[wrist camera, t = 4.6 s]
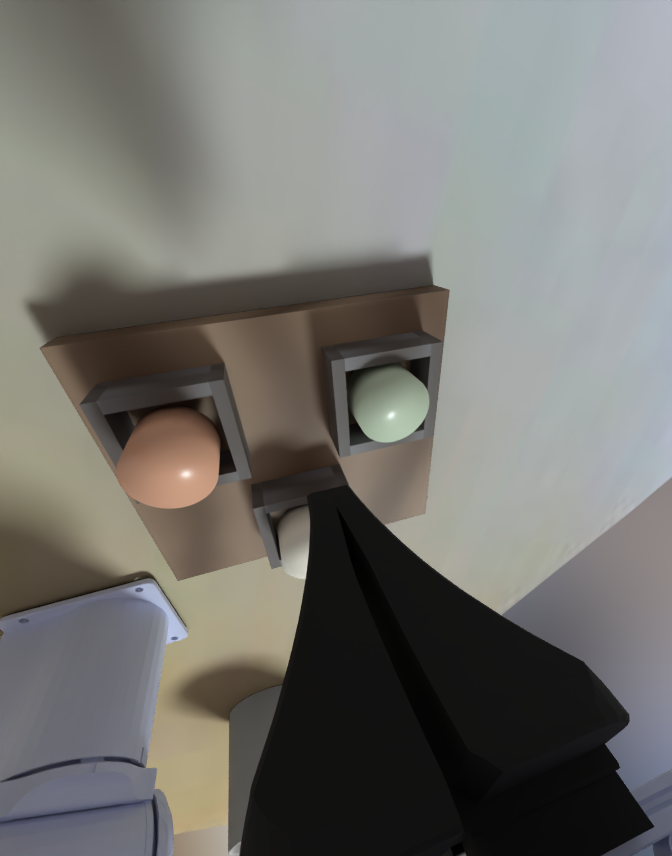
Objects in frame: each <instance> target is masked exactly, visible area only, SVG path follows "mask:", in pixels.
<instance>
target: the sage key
mask: <svg viewBox="0 0 672 856" xmlns="http://www.w3.org/2000/svg"><path fill="white" fill-rule="evenodd" d="M346 390H347V405H348V408H349V410H350V411H351V413H352V415H353V416H354V418H355V419H356V421H357V423H358V424H359V426H360V427H361V429H362V431H363V432H364V433H365V434H366V435H367V436H368V437H369V438H370V439H372V440H375V441H377V442H385V443H386V442H394V441H398V440H401V439H403V438H405V437H407V436H408V435H410V434H411V433H413V432H414V431H415V430H416V429H417V428H418V427H419V426H420V425H421V423H422V422H423V420H424V419H425V417H426V414H427V412H428V408H429V394H428V391H427V389H426V387H425V386H424V384H423V383H422V382H421V381H419V380H418V379H417V378H416V377H415V376H413V375H412V374H411V373H410V372H409V371H408V370H406V369H405V368H404V367H403V366H402V365H400V364H399V363H398V362H395V363H390V364H384V365H378V366H373V367H367V368H362V369H356V370H355V371H354V372H353V373H352V374H351V376H350V377H349V379H348V381H347V384H346Z"/></svg>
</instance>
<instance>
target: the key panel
mask: <svg viewBox="0 0 672 856" xmlns="http://www.w3.org/2000/svg"><path fill="white" fill-rule="evenodd" d="M448 299H449V290H448V289H445V288H441V287H438V286H435V285H433V286H426V287H418V288H411V289H404V290H397V291H389V292H382V293H375V294H367V295H360V296H353V297H346V298H338V299H331V300H324V301H317V302H309V303H302V304H295V305H288V306H280V307H273V308H266V309H258V310H251V311H244V312H237V313H229V314H222V315H215V316H208V317H200V318H193V319H186V320H179V321H171V322H164V323H157V324H150V325H142V326H135V327H128V328H120V329H113V330H106V331H99V332H91V333H84V334H77V335H70V336H62V337H56V338H55V339H53V340H51V341H50V342H48V343H47V344H45V345H44V346H42V347H40V350H41V352H42V353H43V355H44V357H45V358H46V360H47V362H48V363H49V365H50V367H51V368H52V370H53V372H54V373H55V375H56V377H57V379H58V380H59V382H60V384H61V385H62V387H63V389H64V390H65V392H66V394H67V395H68V397H69V399H70V400H71V402H72V404H73V405H74V407H75V409H76V410H77V412H78V414H79V415H80V417H81V419H82V421H83V422H84V424H85V426H86V427H87V429H88V431H89V432H90V434H91V436H92V437H93V439H94V441H95V442H96V444H97V446H98V447H99V449H100V451H101V452H102V454H103V456H104V458H105V459H106V461H107V463H108V464H109V466H110V468H111V469H112V471H113V473H114V474H115V476H116V478H117V474H116V468H117V463H118V460H119V458H120V456H121V454H122V452H123V450H124V448H125V446H126V444H127V442H128V440H129V438H130V436H131V434H132V432H133V430H134V428H135V426H136V424H137V422H138V421H139V420H140V419H141V418H142V417H143V416H144V415H145V414H147V413H148V412H150V411H152V410H154V409H157V408H161V407H165V406H183V407H188V408H191V409H194V410H197V411H199V412H201V413H202V414H204V415H205V416H207V417H208V418H209V419H210V420H211V421H212V422H213V423H214V424H215V426H216V427H217V429H218V431H219V434H220V439H221V444H220V460H219V476H218V481H217V484H216V486H215V488H214V489H213V491H212V492H211V493H210V494H209V495H208V496H207V497H206V498H204V499H203V500H201V501H199V502H197V503H195V504H193V505H190V506H186V507H182V508H173V509H166V508H157V507H152V506H148V505H146V504H143V503H141V502H139V501H137V500H135V499H133V498H132V497H131V496H129V495H128V494H127V493H126V492H125V493H126V494H127V496H128V498H129V500H130V501H131V503H132V505H133V506H134V508H135V510H136V511H137V513H138V515H139V516H140V518H141V520H142V521H143V523H144V525H145V526H146V528H147V530H148V531H149V533H150V535H151V537H152V538H153V540H154V542H155V543H156V545H157V547H158V548H159V550H160V552H161V553H162V555H163V557H164V558H165V560H166V562H167V563H168V565H169V567H170V568H171V570H172V572H173V573H174V575H175V577H176V579H177V580H178V581H179V580H183V579H186V578H190V577H194V576H198V575H201V574H205V573H209V572H212V571H216V570H220V569H223V568H227V567H231V566H234V565H238V564H242V563H245V562H249V561H253V560H256V559H260V558H264V557H267V556H268V559H269V562H270V565H271V569H273V568H277V567H280V566H282V560H281V553H280V546H279V538H278V531H277V525H278V522H279V520H280V518H281V517H282V516H283V514H284V513H285V512H287V511H288V510H289V509H291V508H293V507H296V506H300V505H304V504H308V502H307V496H308V495H309V494H310V493H314V492H318V491H323V490H327V489H331V488H335V487H339V486H343V485H348V486H350V487H351V489H352V490H353V491H354V493H355V494H356V495H357V496H358V497H359V499H360V500H361V501H362V502H363V503H364V504H365V506H366V507H367V508H368V509H369V510H370V511H371V512H372V513H373V514H374V515H375V516H376V517H377V518H378V519H379V520H380V521H381V522H382V523H383V524H384V525H385V524H388V523H392V522H396V521H400V520H403V519H407V518H411V517H414V516H418V515H422V514H425V511H426V501H427V492H428V483H429V474H430V465H431V455H432V446H433V437H434V428H435V419H436V409H437V400H438V391H439V382H440V372H441V363H442V354H443V345H444V336H445V326H446V317H447V308H448ZM395 362H398V363H399V364H400V365H402V366H403V367H404V368H405V369H406V370H408V371H409V372H410V373H411V374H412V375H413V376H415V377H416V378H417V379H418V380H419V381H421V382H422V383H423V384H424V386H425V387H426V389H427V391H428V394H429V408H428V412H427V414H426V417H425V419H424V420H423V422H422V423H421V425H420V426H419V427H418V428H417V429H416V430H415V431H414V432H413V433H411V434H410V435H408V436H407V437H405V438H403V439H401V440H398V441H394V442H386V443H385V442H377V441H375V440H372V439H370V438H369V437H368V436H367V435H366V434H365V433H364V432H363V431H362V429H361V427H360V426H359V424H358V423H357V421H356V419H355V418H354V416H353V415H352V413H351V411H350V410H349V408H348V405H347V390H346V384H347V381H348V379H349V377H350V376H351V374H352V373H353V372H354V371H355V370H356V369H362V368H367V367H373V366H378V365H384V364H390V363H395Z"/></svg>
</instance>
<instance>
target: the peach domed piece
mask: <svg viewBox="0 0 672 856" xmlns="http://www.w3.org/2000/svg"><path fill="white" fill-rule="evenodd" d="M220 444H221V439H220V434H219V431H218V429H217V427H216V426H215V424H214V423H213V422H212V421H211V420H210V419H209V418H208V417H207V416H205V415H204V414H202V413H201V412H199V411H197V410H194V409H191V408H188V407H183V406H165V407H161V408H157V409H154V410H152V411H150V412H148V413H147V414H145V415H144V416H143V417H142V418H141V419H140V420H139V421H138V422H137V424H136V426H135V428H134V430H133V432H132V434H131V436H130V438H129V440H128V442H127V444H126V446H125V448H124V450H123V452H122V454H121V456H120V458H119V460H118V463H117V468H116V474H117V479H118V482H119V484H120V486H121V487H122V488H123V490H124V491H125V492H126V493H127V494H128V495H129V496H131V497H132V498H133V499H135V500H137V501H139V502H141V503H143V504H146V505H148V506H152V507H157V508H166V509H173V508H182V507H186V506H190V505H193V504H195V503H197V502H199V501H201V500H203V499H204V498H206V497H207V496H208V495H209V494H210V493H211V492H212V491H213V489H214V488H215V486H216V484H217V481H218V476H219V460H220Z"/></svg>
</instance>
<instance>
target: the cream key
mask: <svg viewBox="0 0 672 856" xmlns="http://www.w3.org/2000/svg"><path fill="white" fill-rule="evenodd" d="M277 531H278V538H279V546H280V553H281V560H282V566H283V569H284V571H285V572H286V573H287V574H289V575H290V576H292V577H295V578H301V579H306V572H307V564H308V555H309V539H310V514H309V508H308V504H304V505H300V506H296V507H293V508H291V509H289V510H288V511H287V512H285V513H284V514H283V516H282V517H281V518H280V520H279V522H278V525H277Z"/></svg>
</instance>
